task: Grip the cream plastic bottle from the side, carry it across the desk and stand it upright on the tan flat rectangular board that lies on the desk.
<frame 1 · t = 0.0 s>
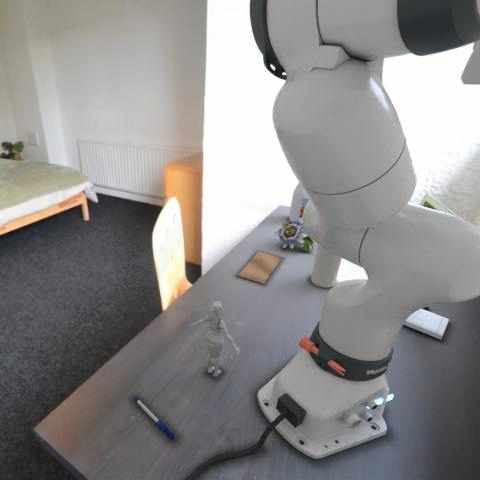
human figurine: (212, 374, 69), on the table
tan flat rectangular board: (260, 266, 105), on the table
milk bottle: (298, 220, 137), on the table
passion flower: (293, 246, 118), on the table
ballpoint pen: (153, 419, 60), on the table
hard drive: (412, 320, 82), on the table
bottle: (322, 281, 98), on the table
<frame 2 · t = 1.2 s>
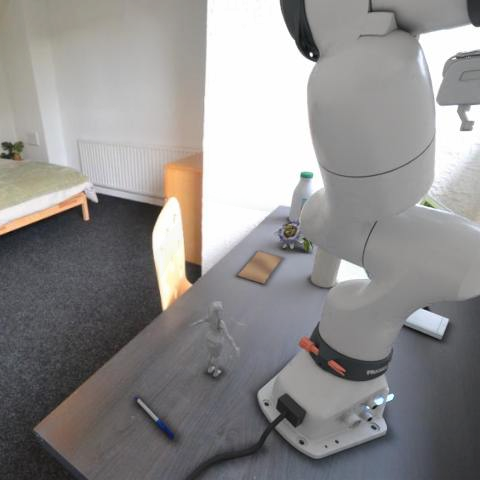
nothing on the table moved.
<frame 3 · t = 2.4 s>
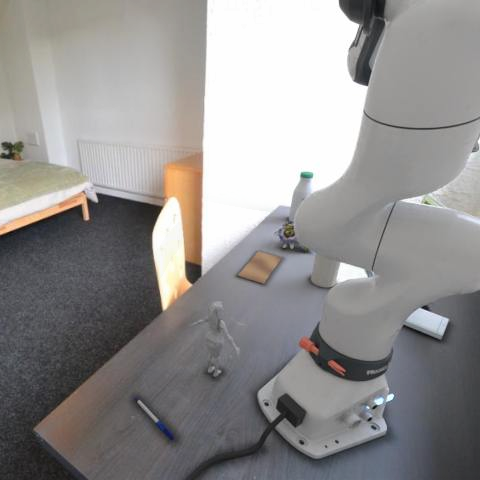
hand: (443, 157, 68), 39 cm above the table, tool tilted 40°, fingers open, 8 cm apart
nothing on the table moved.
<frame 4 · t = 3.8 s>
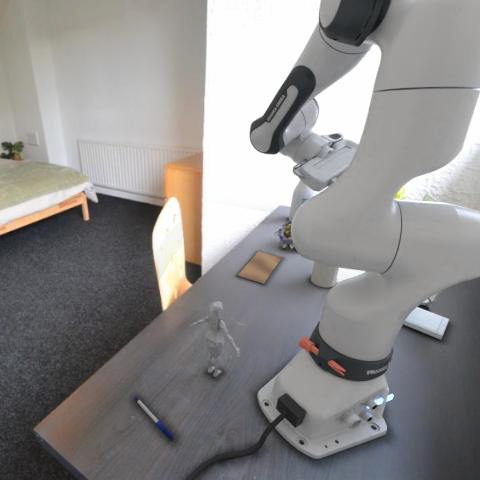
hand: (361, 181, 81), 31 cm above the table, tool tilted 70°, fingers open, 8 cm apart
nothing on the table moved.
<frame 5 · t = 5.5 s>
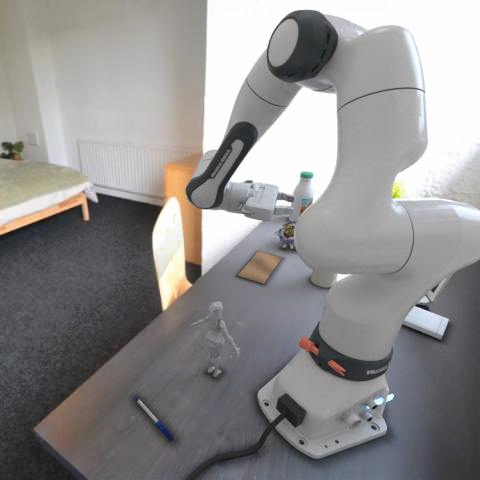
hand: (293, 204, 91), 23 cm above the table, tool horizontal, fingers open, 8 cm apart
nothing on the table moved.
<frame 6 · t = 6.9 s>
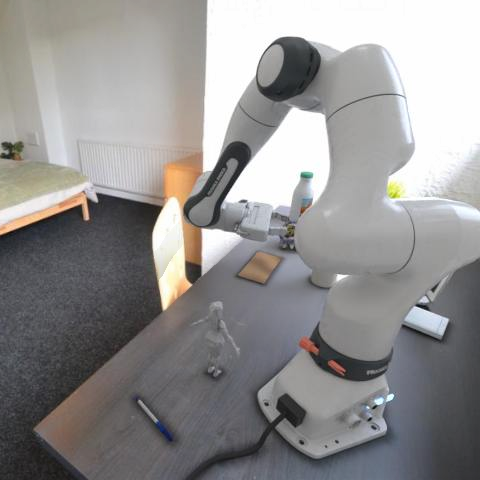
hand: (287, 224, 94), 17 cm above the table, tool horizontal, fingers open, 8 cm apart
nothing on the table moved.
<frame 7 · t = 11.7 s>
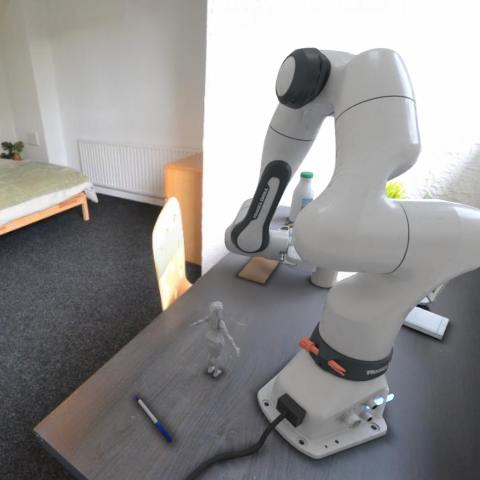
hand: (332, 253, 93), 10 cm above the table, tool horizontal, fingers closed on bottle, 6 cm apart
bottle: (322, 281, 98), on the table, touching gripper
everything else where it was.
when the fingers open (10 cm above the table, at t = 19.2 s): bottle stays where it is, resting on tan flat rectangular board.
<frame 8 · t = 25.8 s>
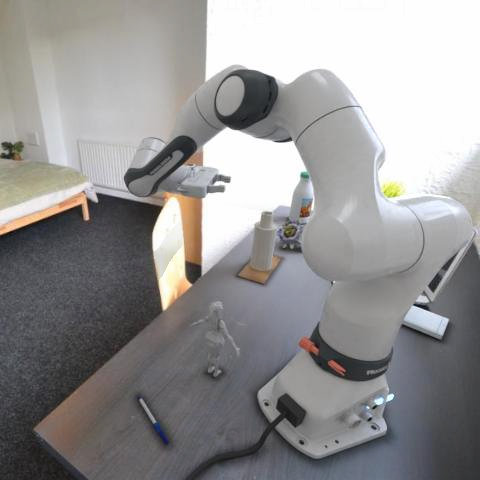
hand: (228, 184, 98), 26 cm above the table, tool horizontal, fingers open, 8 cm apart
bottle: (260, 266, 105), resting on tan flat rectangular board
everything else where it was.
at the end: bottle inside the target area on the tan flat rectangular board (0.0 cm from its centre), point 0.3 cm above the tan flat rectangular board's base; bottle tilted 0°; the gripper is holding nothing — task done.
